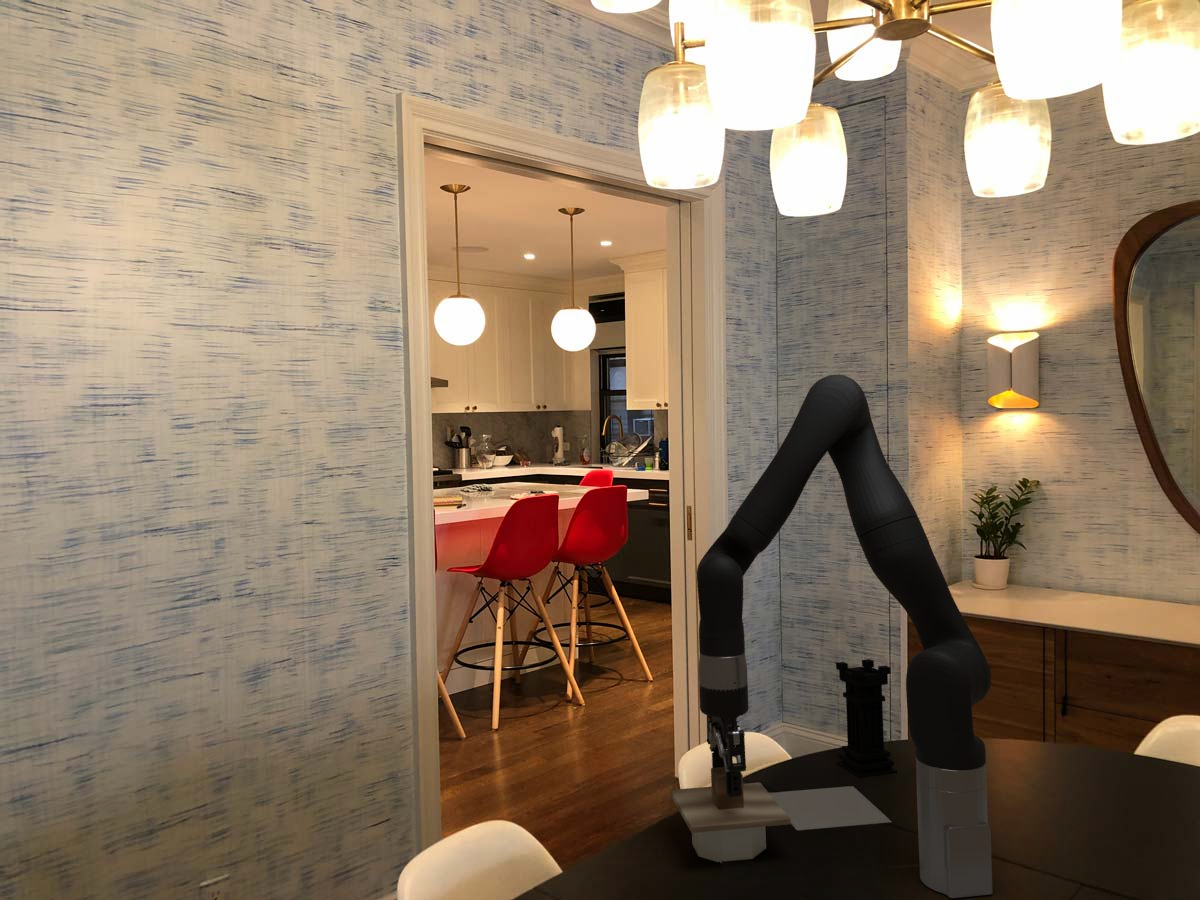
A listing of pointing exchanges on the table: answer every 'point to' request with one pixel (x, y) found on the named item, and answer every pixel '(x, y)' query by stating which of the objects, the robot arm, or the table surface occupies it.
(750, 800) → the lid
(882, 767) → the chess piece
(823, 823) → the mat
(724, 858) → the bowl
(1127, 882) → the table surface
